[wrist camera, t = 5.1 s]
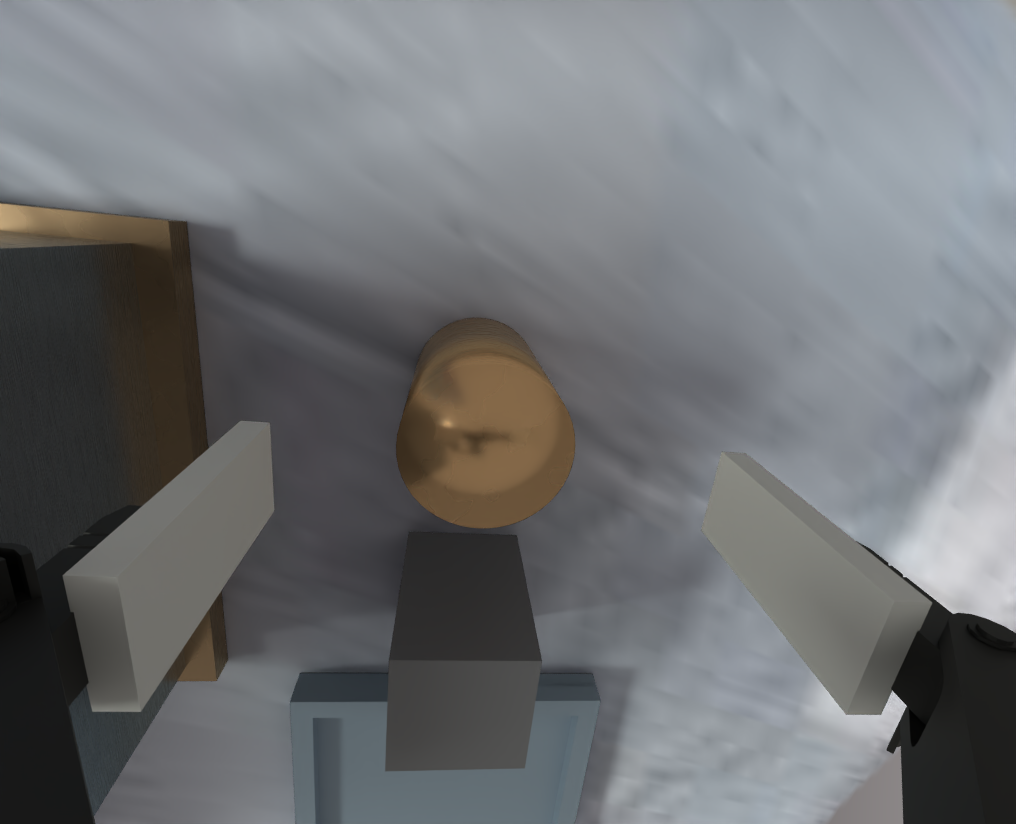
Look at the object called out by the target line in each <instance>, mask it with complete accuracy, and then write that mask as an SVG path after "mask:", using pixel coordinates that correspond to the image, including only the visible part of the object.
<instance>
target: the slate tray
mask: <svg viewBox="0 0 1016 824" xmlns="http://www.w3.org/2000/svg"><path fill="white" fill-rule="evenodd" d="M387 701H388V673H300V675H299V678H298V681H297V683H296V686H295V689H294V692H293V695H292V698H291V700H290V715H291V737H292V759H293V780H294V802H295V824H575V820H576V815H577V810H578V806H579V801H580V796H581V792H582V787H583V782H584V777H585V773H586V768H587V763H588V759H589V754H590V749H591V744H592V740H593V735H594V730H595V726H596V721H597V716H598V711H599V707H600V702H601V700H600V697H599V693H598V690H597V687H596V684H595V680H594V677H593V674H540V676H539V683H538V689H537V695H536V701H535V708H534V714H533V720H532V727H531V733H530V739H529V745H528V752H527V758H526V764H525V768H521V769H475V770H429V771H385V758H386V730H387Z"/></svg>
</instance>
